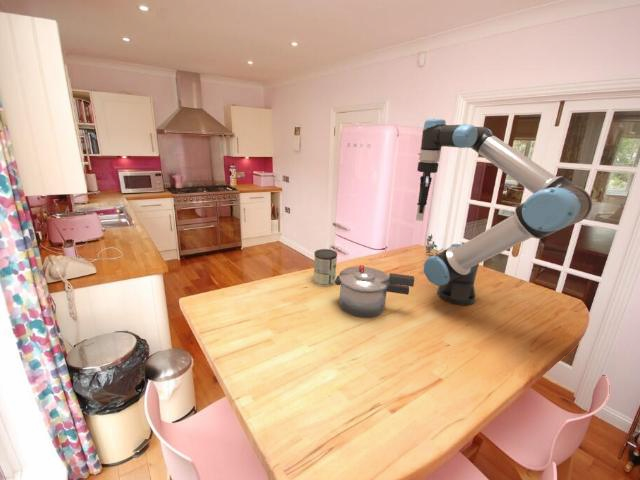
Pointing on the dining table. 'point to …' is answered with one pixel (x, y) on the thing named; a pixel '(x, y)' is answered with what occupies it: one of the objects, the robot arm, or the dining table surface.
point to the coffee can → (325, 267)
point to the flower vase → (430, 247)
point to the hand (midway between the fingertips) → (419, 220)
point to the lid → (371, 279)
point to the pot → (366, 300)
